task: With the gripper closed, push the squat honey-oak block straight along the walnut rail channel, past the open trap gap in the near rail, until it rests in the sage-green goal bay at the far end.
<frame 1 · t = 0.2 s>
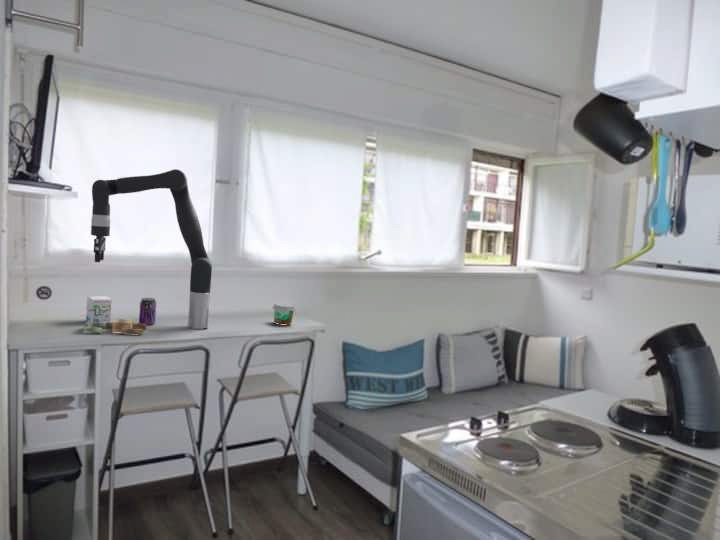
hand: (99, 261, 237), 29 cm above the table, fingers open, 8 cm apart
ink box: (98, 322, 243), on the table
channel: (116, 331, 229), on the table
block: (122, 332, 230), on the table
food container: (280, 324, 276), on the table
beverage can: (146, 324, 248), on the table
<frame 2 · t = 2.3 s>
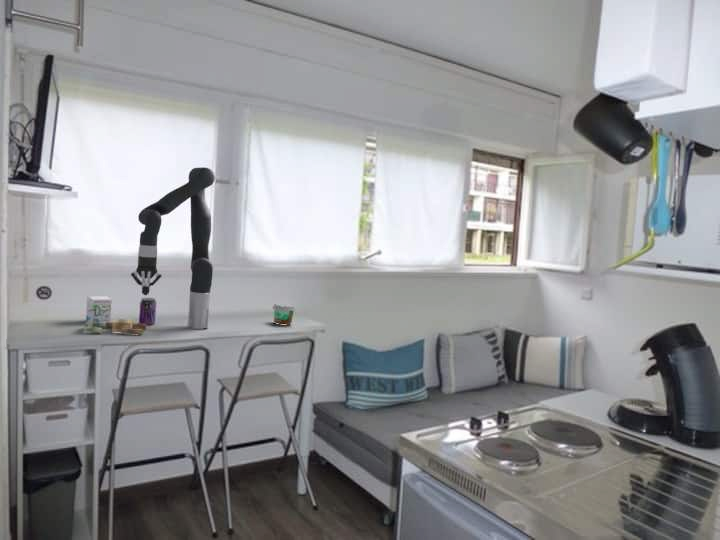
hand: (145, 294, 231), 17 cm above the table, fingers closed
nothing on the table moved.
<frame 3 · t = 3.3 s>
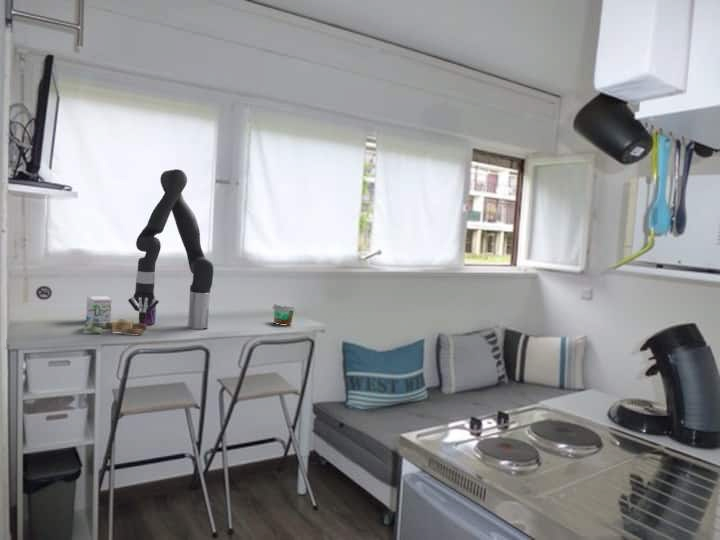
hand: (142, 320, 232), 5 cm above the table, fingers closed
nothing on the table moved.
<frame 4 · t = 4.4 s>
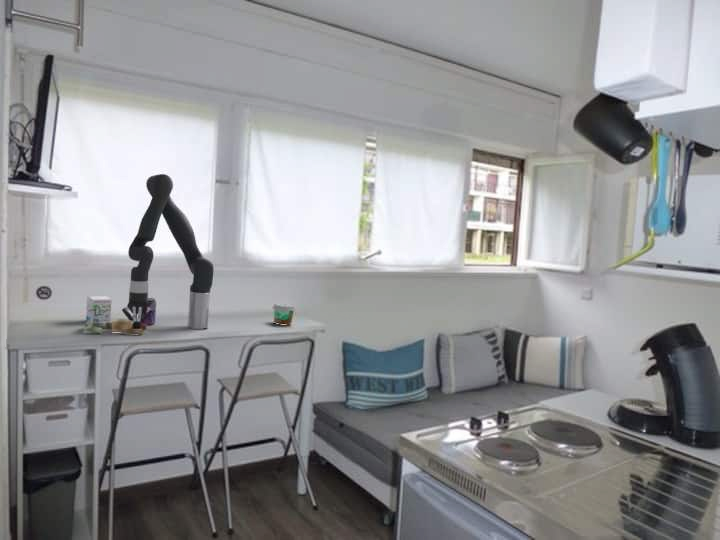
hand: (136, 329, 231), 1 cm above the table, fingers closed
block: (121, 331, 230), on the table, touching gripper
everything else where it was.
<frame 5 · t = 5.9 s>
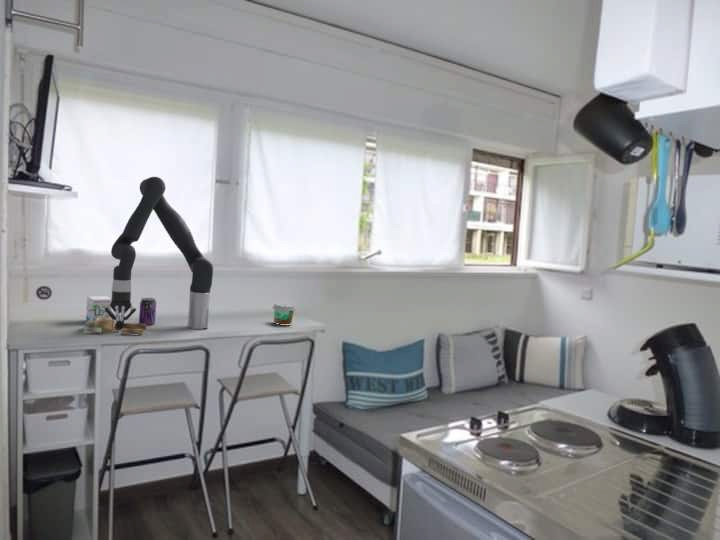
hand: (119, 329, 229), 1 cm above the table, fingers closed
block: (104, 330, 228), on the table, touching gripper
everything else where it was.
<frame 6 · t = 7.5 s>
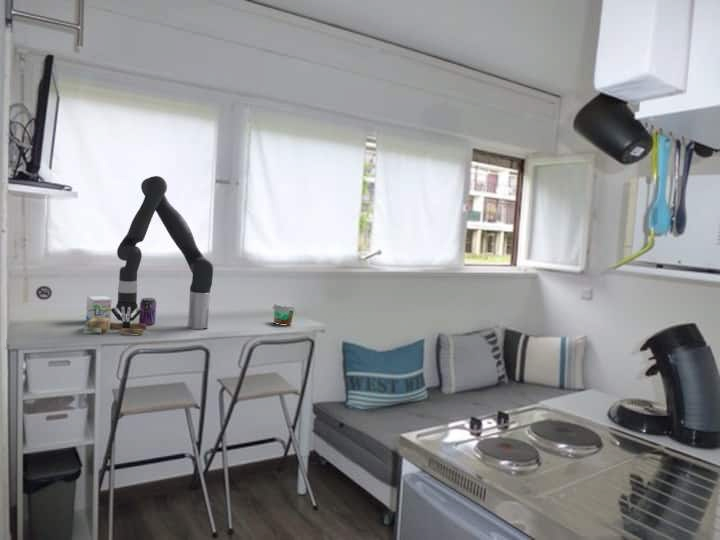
hand: (125, 329, 231), 1 cm above the table, fingers closed
block: (99, 331, 228), on the table
everything else where it was.
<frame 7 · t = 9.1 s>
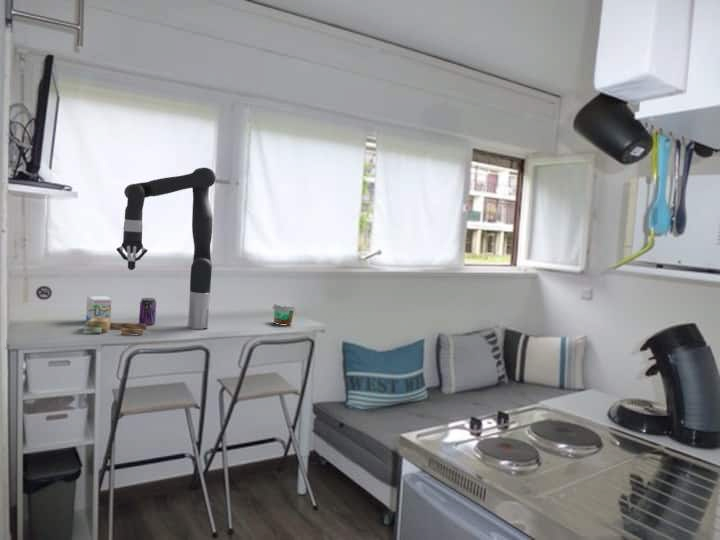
hand: (131, 269, 231), 27 cm above the table, fingers closed
nothing on the table moved.
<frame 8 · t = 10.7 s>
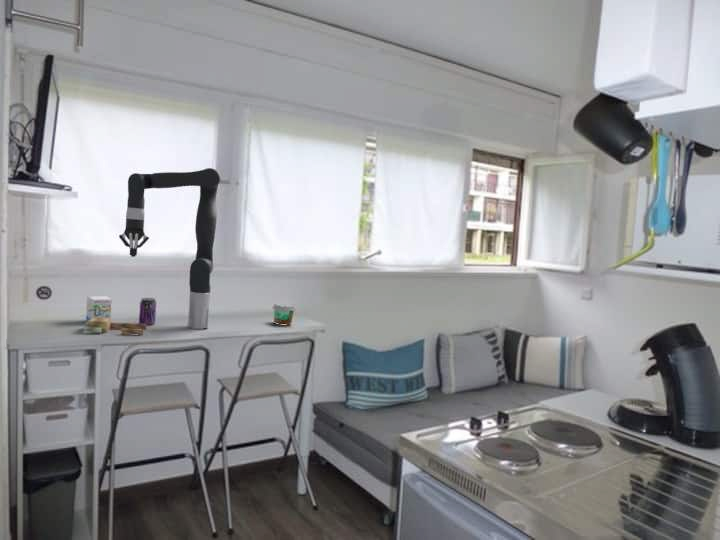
hand: (133, 256, 239), 32 cm above the table, fingers closed
nothing on the table moved.
at the end: block inside the target area (0.7 cm from its centre), on the table; block tilted 0° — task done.
